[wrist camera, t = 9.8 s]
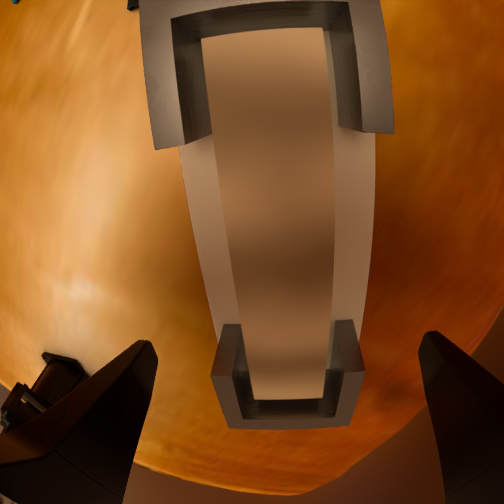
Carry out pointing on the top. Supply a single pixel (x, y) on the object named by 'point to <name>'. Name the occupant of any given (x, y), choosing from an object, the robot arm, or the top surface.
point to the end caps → (199, 125)
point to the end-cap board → (346, 221)
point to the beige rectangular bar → (277, 199)
